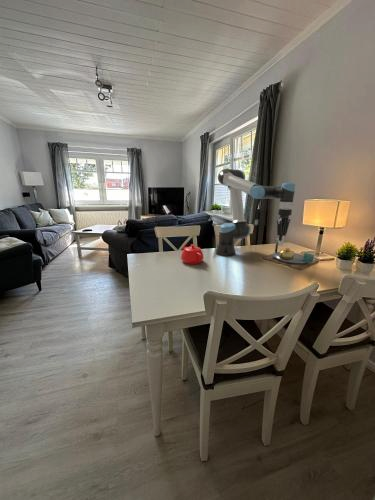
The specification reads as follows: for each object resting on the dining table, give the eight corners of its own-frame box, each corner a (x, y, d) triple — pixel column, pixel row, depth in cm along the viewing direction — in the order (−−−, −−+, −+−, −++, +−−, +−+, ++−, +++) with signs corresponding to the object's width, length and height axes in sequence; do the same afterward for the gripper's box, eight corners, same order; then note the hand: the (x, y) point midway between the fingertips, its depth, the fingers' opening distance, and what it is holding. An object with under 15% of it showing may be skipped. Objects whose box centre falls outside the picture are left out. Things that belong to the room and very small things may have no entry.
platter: (266, 257, 156) (267, 248, 154) (282, 251, 170) (284, 243, 168) (304, 268, 136) (305, 258, 134) (319, 260, 150) (321, 252, 148)
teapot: (211, 265, 141) (212, 247, 138) (191, 269, 133) (192, 250, 130) (191, 254, 161) (191, 239, 158) (173, 257, 154) (173, 241, 150)
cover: (276, 257, 150) (278, 248, 148) (283, 255, 156) (284, 246, 154) (289, 261, 144) (290, 251, 142) (295, 258, 149) (297, 249, 147)
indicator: (273, 252, 168) (275, 238, 165) (275, 252, 169) (277, 238, 166) (276, 253, 166) (278, 239, 163) (277, 252, 167) (280, 238, 164)
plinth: (261, 258, 156) (262, 257, 156) (281, 252, 173) (281, 251, 173) (300, 270, 135) (301, 268, 135) (318, 261, 152) (318, 260, 152)
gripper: (286, 209, 126) (280, 248, 132) (296, 208, 134) (290, 244, 140) (274, 208, 132) (269, 245, 138) (284, 207, 139) (280, 242, 146)
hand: (280, 245), depth 139 cm, fingers closed
